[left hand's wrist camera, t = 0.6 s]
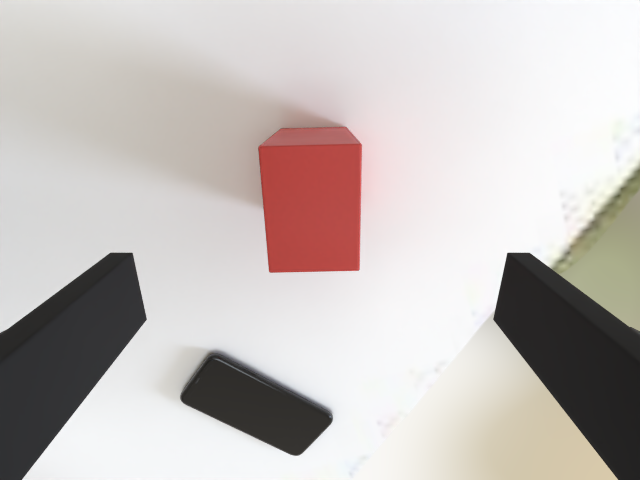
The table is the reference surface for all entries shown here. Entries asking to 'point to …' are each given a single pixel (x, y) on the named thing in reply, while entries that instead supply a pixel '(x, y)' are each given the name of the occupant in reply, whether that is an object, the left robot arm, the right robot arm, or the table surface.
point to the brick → (312, 199)
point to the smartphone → (255, 405)
